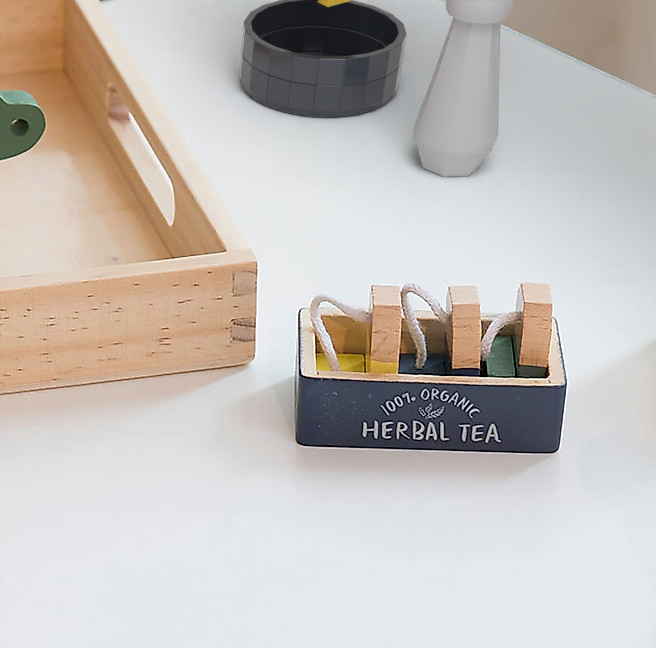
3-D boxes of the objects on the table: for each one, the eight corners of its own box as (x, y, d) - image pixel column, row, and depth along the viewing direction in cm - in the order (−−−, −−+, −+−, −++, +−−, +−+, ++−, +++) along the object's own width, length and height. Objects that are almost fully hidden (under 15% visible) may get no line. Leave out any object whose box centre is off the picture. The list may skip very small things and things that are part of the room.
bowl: (324, 42, 125) (331, -14, 122) (430, 94, 118) (440, 35, 114) (207, 76, 120) (211, 18, 117) (309, 133, 113) (316, 72, 109)
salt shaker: (456, 190, 106) (491, 2, 97) (391, 162, 109) (420, -23, 100) (507, 165, 109) (546, -20, 100) (442, 139, 112) (475, -43, 103)
